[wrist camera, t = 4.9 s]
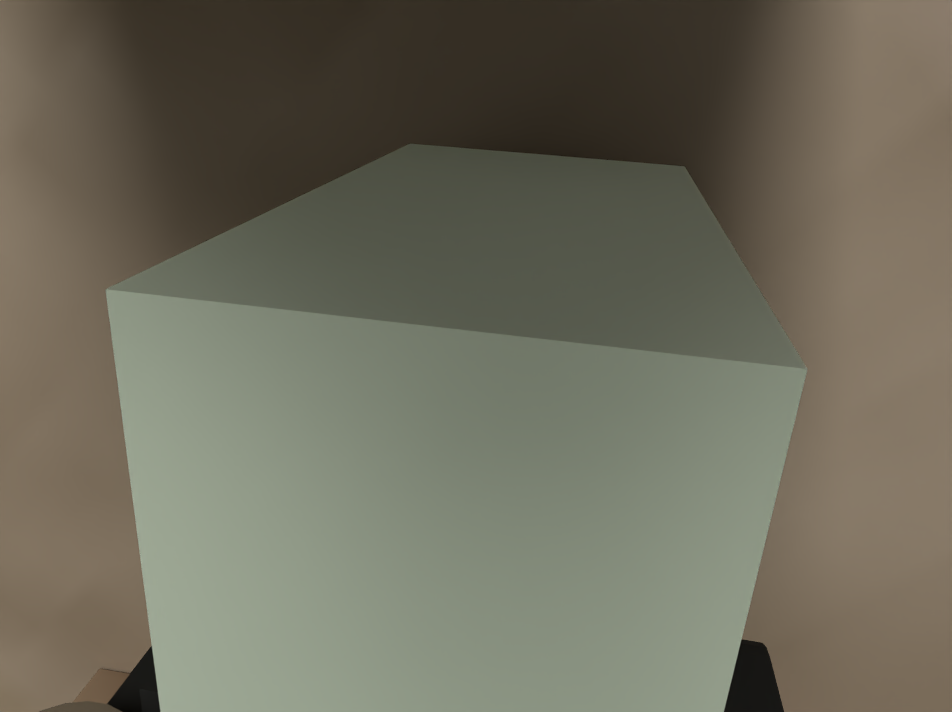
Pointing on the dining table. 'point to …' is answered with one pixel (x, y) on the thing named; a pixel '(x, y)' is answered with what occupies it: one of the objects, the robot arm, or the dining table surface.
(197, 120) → the dining table surface
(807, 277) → the dining table surface
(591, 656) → the book
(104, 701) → the shelf
